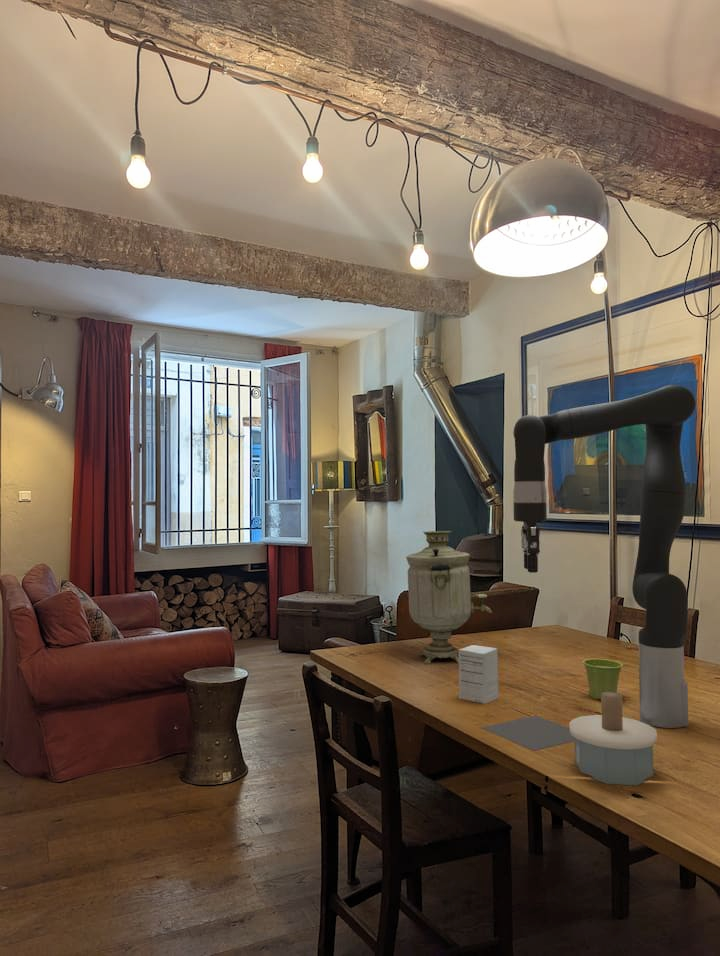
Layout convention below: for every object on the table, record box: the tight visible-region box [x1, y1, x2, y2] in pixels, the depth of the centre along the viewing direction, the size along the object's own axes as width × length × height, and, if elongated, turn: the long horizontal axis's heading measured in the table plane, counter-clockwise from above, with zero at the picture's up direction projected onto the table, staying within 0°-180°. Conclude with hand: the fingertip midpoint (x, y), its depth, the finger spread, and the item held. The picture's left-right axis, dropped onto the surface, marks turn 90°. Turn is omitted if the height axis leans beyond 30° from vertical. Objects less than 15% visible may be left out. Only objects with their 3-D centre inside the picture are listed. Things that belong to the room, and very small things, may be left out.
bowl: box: [574, 738, 654, 787], centre depth 124 cm, size 13×13×6 cm
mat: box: [480, 715, 575, 752], centre depth 143 cm, size 16×16×1 cm
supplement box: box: [458, 644, 499, 705], centre depth 169 cm, size 7×7×13 cm
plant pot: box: [582, 658, 624, 700], centre depth 170 cm, size 9×9×9 cm
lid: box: [568, 692, 658, 749], centre depth 124 cm, size 15×15×7 cm
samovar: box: [405, 530, 493, 664], centre depth 212 cm, size 30×26×40 cm
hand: (530, 570), depth 158 cm, fingers open, 8 cm apart
